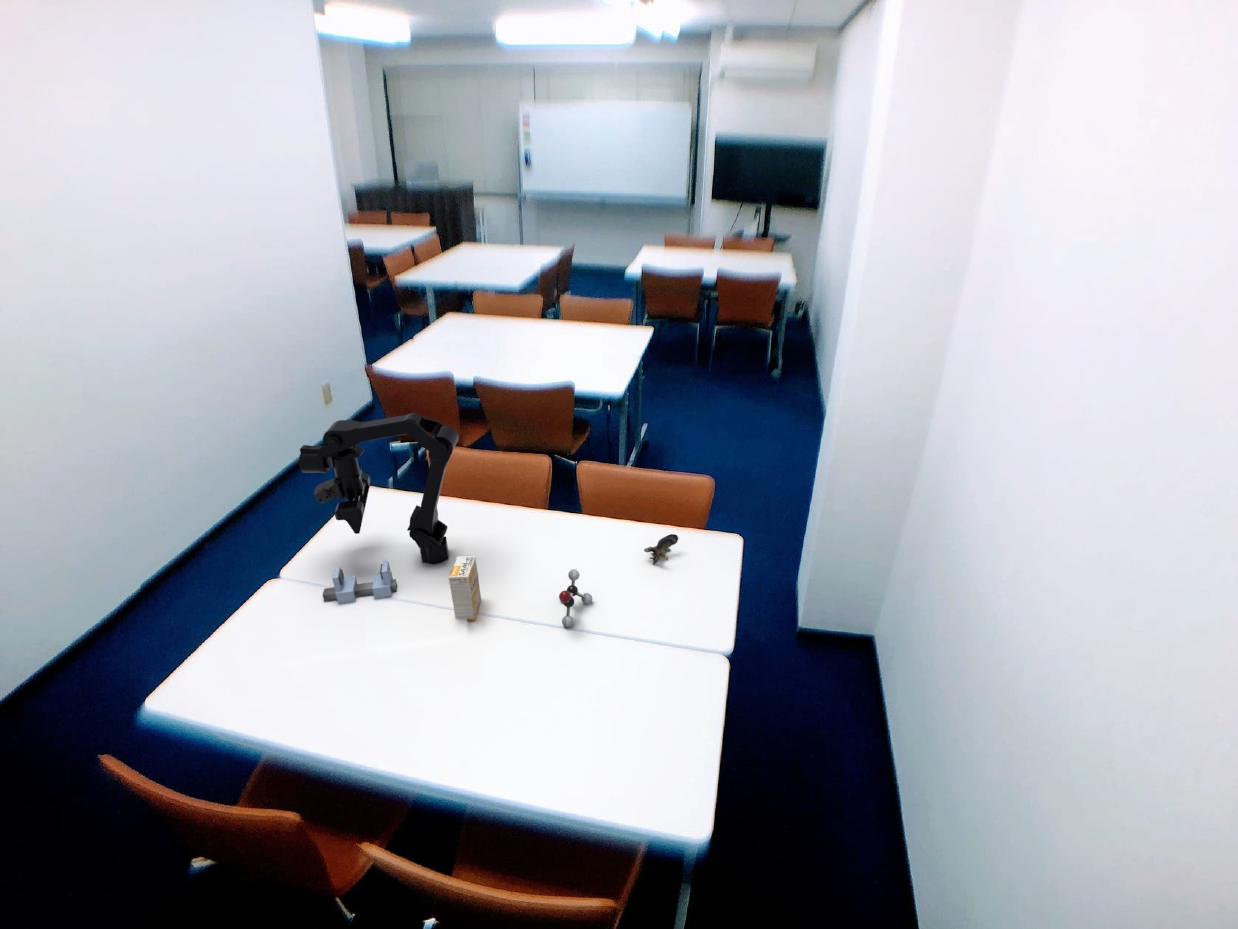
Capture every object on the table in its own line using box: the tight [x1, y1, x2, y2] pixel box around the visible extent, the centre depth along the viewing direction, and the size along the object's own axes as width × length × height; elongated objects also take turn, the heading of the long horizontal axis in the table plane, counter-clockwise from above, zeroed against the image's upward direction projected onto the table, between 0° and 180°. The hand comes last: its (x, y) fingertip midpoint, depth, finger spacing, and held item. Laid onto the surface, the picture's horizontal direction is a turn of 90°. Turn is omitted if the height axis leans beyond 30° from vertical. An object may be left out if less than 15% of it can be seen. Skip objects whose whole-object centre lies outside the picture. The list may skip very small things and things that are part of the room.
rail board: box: [322, 578, 398, 603], centre depth 171 cm, size 18×9×3 cm, turn 102°
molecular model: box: [558, 569, 593, 628], centre depth 162 cm, size 8×12×11 cm
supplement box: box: [448, 556, 482, 622], centre depth 163 cm, size 8×5×13 cm, turn 179°
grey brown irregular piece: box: [643, 533, 679, 566], centre depth 182 cm, size 8×7×9 cm
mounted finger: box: [372, 560, 394, 600], centre depth 170 cm, size 4×6×7 cm, turn 12°
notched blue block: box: [331, 566, 359, 605], centre depth 168 cm, size 4×6×7 cm, turn 12°
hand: (359, 523), depth 178 cm, fingers open, 9 cm apart
